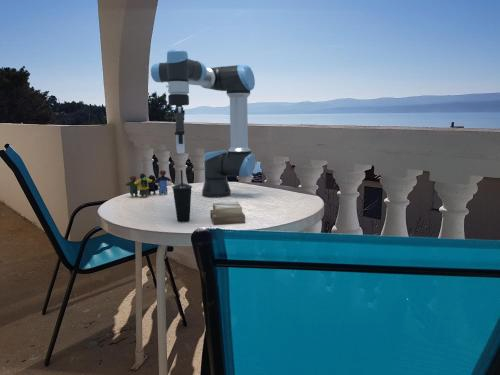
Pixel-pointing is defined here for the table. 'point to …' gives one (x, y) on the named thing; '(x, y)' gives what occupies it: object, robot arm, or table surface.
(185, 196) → the drinking cup
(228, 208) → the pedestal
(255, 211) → the table surface
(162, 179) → the doll family
